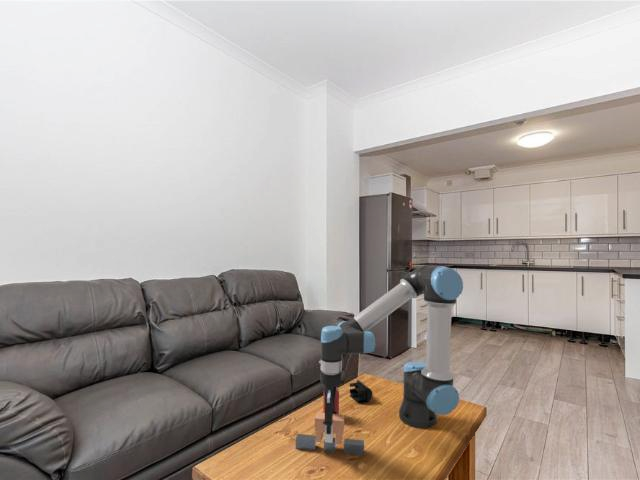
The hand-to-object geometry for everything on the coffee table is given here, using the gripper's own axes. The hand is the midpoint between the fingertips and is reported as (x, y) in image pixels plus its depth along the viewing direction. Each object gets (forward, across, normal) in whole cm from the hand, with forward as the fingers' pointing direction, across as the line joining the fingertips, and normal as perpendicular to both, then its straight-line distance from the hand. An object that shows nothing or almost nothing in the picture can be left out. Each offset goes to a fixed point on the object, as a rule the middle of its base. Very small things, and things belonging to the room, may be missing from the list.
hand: (329, 437), depth 116 cm
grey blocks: (+4, 0, 0) cm, 4 cm away
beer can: (+4, -22, -2) cm, 23 cm away
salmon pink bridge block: (+1, 0, 0) cm, 1 cm away
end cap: (+4, -41, +10) cm, 43 cm away
